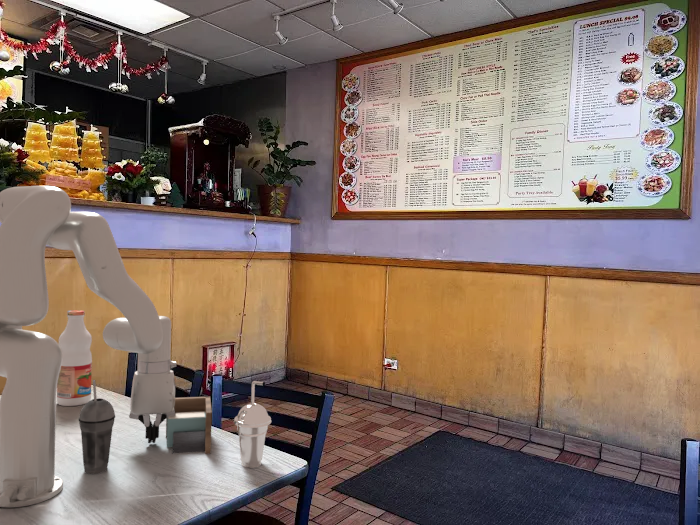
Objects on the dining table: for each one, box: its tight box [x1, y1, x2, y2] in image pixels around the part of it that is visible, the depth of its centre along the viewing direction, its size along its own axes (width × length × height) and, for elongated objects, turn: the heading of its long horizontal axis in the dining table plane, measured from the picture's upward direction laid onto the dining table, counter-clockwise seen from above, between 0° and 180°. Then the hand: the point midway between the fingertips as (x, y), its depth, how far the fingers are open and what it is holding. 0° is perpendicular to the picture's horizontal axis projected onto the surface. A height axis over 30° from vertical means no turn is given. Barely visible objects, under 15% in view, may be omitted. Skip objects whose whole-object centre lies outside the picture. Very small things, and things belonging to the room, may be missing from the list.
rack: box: [165, 396, 213, 455], centre depth 135 cm, size 14×11×10 cm
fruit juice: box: [56, 309, 93, 407], centre depth 167 cm, size 9×9×28 cm
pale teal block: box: [166, 411, 206, 448], centre depth 136 cm, size 5×9×7 cm, turn 106°
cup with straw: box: [233, 380, 272, 469], centre depth 124 cm, size 8×9×20 cm
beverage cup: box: [78, 379, 116, 475], centre depth 118 cm, size 7×7×20 cm
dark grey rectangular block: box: [172, 430, 205, 455], centre depth 132 cm, size 4×8×4 cm, turn 106°
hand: (152, 440), depth 134 cm, fingers closed
